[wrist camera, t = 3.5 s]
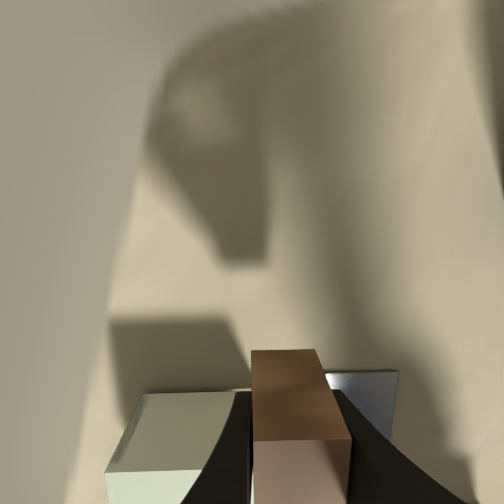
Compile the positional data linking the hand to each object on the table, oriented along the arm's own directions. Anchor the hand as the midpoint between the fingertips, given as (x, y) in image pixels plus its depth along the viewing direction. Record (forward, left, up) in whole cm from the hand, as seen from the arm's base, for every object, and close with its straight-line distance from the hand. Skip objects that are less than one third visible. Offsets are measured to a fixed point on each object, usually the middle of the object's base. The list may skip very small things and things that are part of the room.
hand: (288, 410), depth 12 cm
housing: (+5, +9, -8) cm, 13 cm away
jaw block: (0, 0, -2) cm, 2 cm away
